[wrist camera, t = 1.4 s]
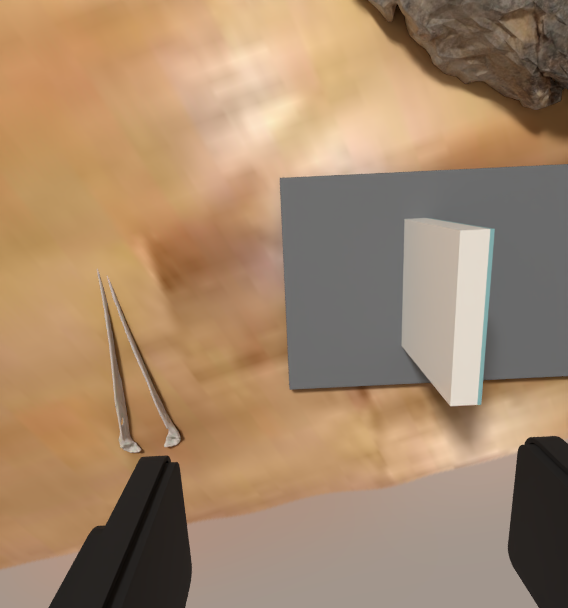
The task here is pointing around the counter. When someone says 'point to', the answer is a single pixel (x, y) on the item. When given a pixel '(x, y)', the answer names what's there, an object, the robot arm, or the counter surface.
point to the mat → (389, 270)
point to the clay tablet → (494, 43)
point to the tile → (447, 304)
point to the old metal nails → (120, 405)
